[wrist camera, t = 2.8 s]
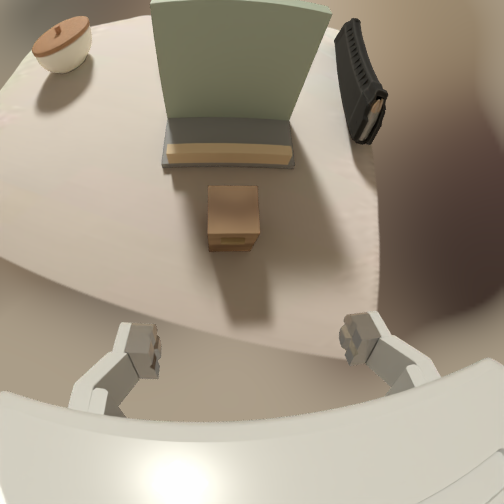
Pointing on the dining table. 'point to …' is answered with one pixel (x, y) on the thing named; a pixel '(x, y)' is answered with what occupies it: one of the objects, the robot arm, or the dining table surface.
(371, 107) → the magazine
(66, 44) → the lidded bowl
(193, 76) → the wall board
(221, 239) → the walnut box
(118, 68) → the dining table surface
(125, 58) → the dining table surface
